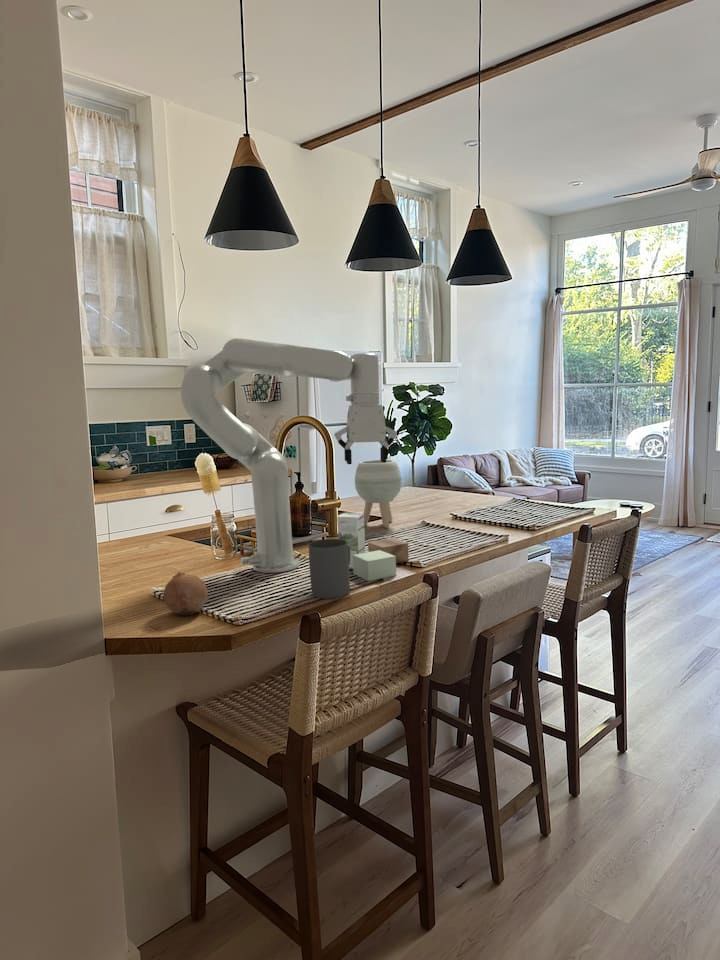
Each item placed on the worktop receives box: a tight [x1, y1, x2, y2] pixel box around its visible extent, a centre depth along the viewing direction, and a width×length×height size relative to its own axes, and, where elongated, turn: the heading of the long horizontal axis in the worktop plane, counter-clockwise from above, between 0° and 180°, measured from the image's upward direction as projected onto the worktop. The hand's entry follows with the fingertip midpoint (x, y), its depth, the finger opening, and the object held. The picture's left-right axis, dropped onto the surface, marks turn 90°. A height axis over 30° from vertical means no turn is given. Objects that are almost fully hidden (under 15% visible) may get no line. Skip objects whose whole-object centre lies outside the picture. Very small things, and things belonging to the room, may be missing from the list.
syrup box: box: [336, 512, 366, 570], centre depth 175 cm, size 6×6×14 cm
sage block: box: [352, 550, 397, 582], centre depth 167 cm, size 8×8×5 cm
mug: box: [308, 538, 351, 600], centre depth 155 cm, size 14×9×12 cm
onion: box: [162, 571, 209, 617], centre depth 144 cm, size 10×9×10 cm
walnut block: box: [367, 537, 410, 564], centre depth 180 cm, size 8×8×5 cm
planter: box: [354, 459, 402, 529], centre depth 227 cm, size 16×16×22 cm
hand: (366, 463), depth 179 cm, fingers open, 9 cm apart
